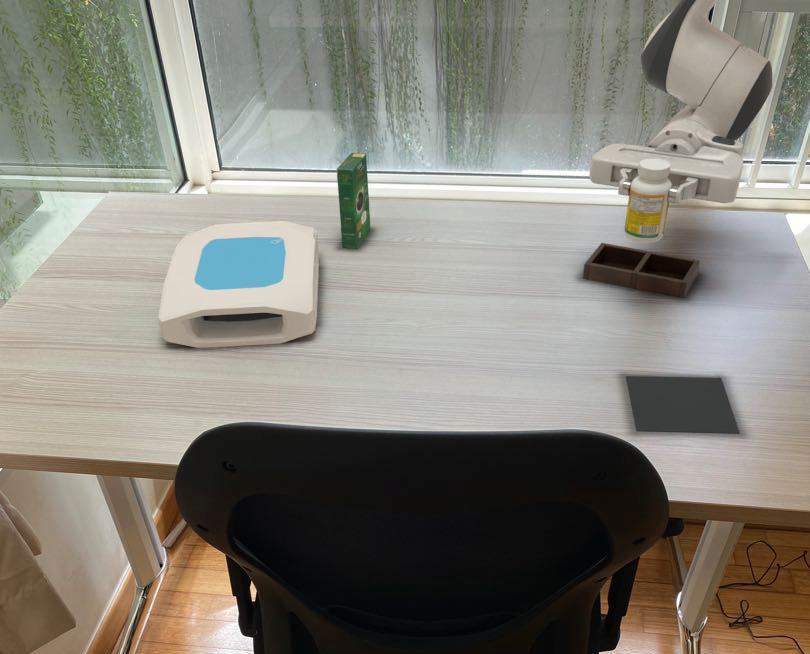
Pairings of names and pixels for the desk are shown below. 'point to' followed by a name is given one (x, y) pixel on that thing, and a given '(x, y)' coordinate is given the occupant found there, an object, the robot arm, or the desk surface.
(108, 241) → the desk surface
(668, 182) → the supplement bottle
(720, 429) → the mat
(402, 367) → the desk surface
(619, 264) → the jar stand
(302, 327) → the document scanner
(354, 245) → the coffee box
